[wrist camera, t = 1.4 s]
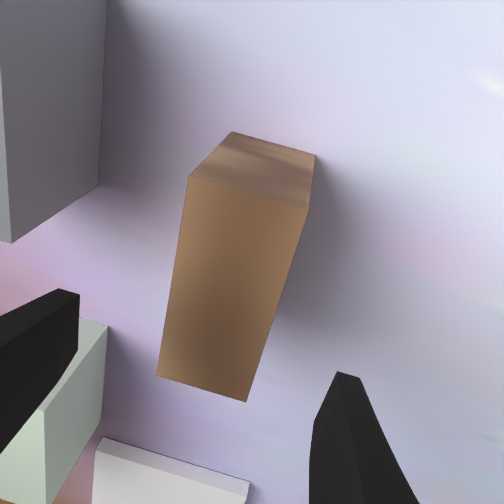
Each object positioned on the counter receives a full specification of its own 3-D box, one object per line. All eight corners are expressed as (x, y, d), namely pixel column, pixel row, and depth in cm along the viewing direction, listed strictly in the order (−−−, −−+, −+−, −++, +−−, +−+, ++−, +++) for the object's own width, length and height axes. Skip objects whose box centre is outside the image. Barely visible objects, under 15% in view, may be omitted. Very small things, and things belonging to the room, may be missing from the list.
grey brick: (26, 164, 19) (-87, 214, 14) (18, -42, 15) (-142, -78, 10) (98, 185, 19) (11, 243, 14) (109, -18, 15) (-7, -41, 10)
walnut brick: (199, 289, 21) (155, 375, 16) (232, 131, 17) (188, 176, 12) (267, 308, 21) (246, 402, 16) (315, 154, 17) (308, 210, 12)
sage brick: (49, 403, 27) (-18, 493, 22) (48, 306, 23) (-34, 387, 18) (101, 419, 27) (46, 513, 22) (108, 324, 23) (43, 411, 18)
